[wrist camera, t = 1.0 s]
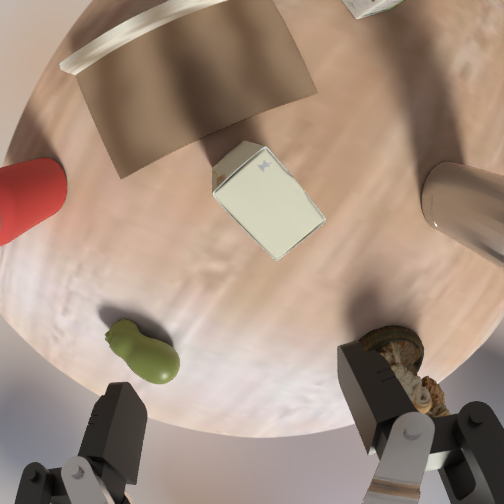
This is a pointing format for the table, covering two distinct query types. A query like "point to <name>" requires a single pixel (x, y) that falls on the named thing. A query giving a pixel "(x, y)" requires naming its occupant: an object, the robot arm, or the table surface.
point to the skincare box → (264, 199)
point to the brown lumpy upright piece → (407, 367)
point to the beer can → (29, 195)
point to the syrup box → (369, 6)
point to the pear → (143, 353)
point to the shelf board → (186, 75)
